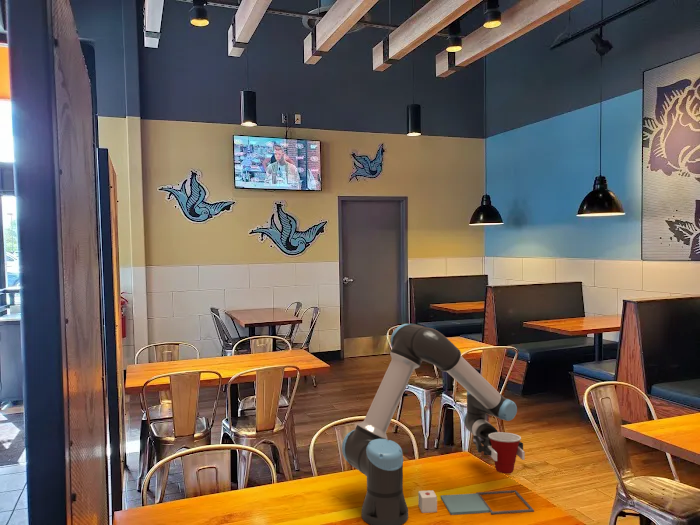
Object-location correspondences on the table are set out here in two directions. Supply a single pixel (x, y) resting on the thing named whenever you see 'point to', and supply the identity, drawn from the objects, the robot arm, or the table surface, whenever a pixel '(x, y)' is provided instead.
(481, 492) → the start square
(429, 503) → the die
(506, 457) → the plastic cup
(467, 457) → the table surface
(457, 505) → the pad
